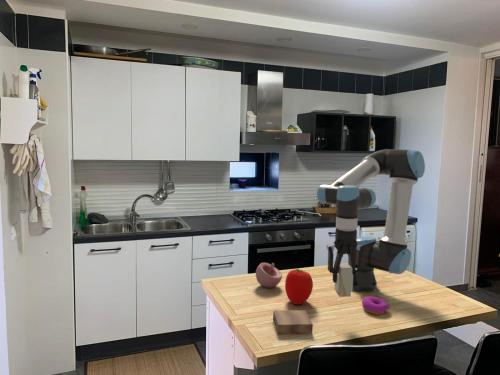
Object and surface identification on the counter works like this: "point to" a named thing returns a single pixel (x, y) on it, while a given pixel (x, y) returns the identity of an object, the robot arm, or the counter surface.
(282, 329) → the walnut block
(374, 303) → the donut
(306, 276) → the tomato
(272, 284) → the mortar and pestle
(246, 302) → the counter surface
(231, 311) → the counter surface
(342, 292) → the box
